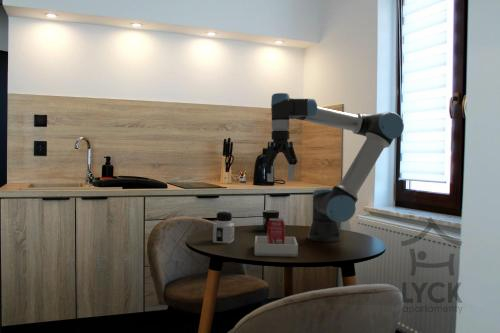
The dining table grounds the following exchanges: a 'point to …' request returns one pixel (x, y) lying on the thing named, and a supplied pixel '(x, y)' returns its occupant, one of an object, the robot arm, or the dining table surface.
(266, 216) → the coffee mug
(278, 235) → the soda can
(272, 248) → the bin
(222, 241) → the container
